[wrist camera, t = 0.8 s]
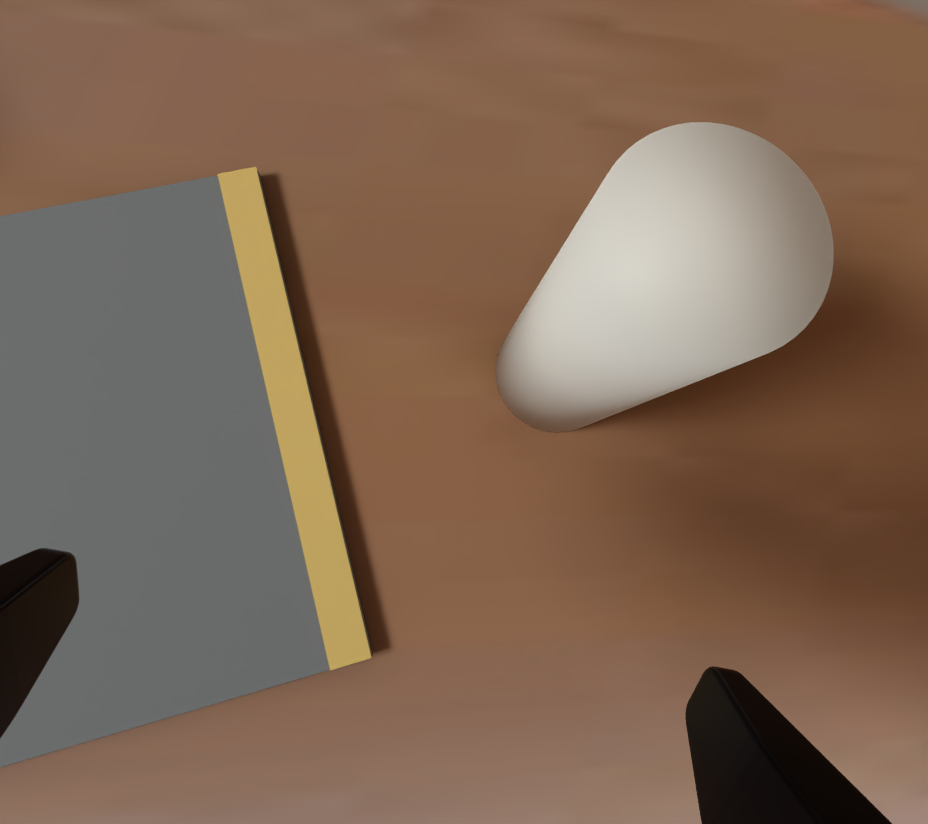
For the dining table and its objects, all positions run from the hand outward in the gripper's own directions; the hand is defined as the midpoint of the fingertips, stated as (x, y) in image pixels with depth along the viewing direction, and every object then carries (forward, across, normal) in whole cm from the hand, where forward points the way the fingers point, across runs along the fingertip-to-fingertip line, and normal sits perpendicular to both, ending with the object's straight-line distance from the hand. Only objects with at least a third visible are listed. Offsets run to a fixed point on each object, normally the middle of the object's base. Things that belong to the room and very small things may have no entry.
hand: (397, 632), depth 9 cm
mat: (+12, +11, +6) cm, 17 cm away
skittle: (+15, -4, +1) cm, 16 cm away
